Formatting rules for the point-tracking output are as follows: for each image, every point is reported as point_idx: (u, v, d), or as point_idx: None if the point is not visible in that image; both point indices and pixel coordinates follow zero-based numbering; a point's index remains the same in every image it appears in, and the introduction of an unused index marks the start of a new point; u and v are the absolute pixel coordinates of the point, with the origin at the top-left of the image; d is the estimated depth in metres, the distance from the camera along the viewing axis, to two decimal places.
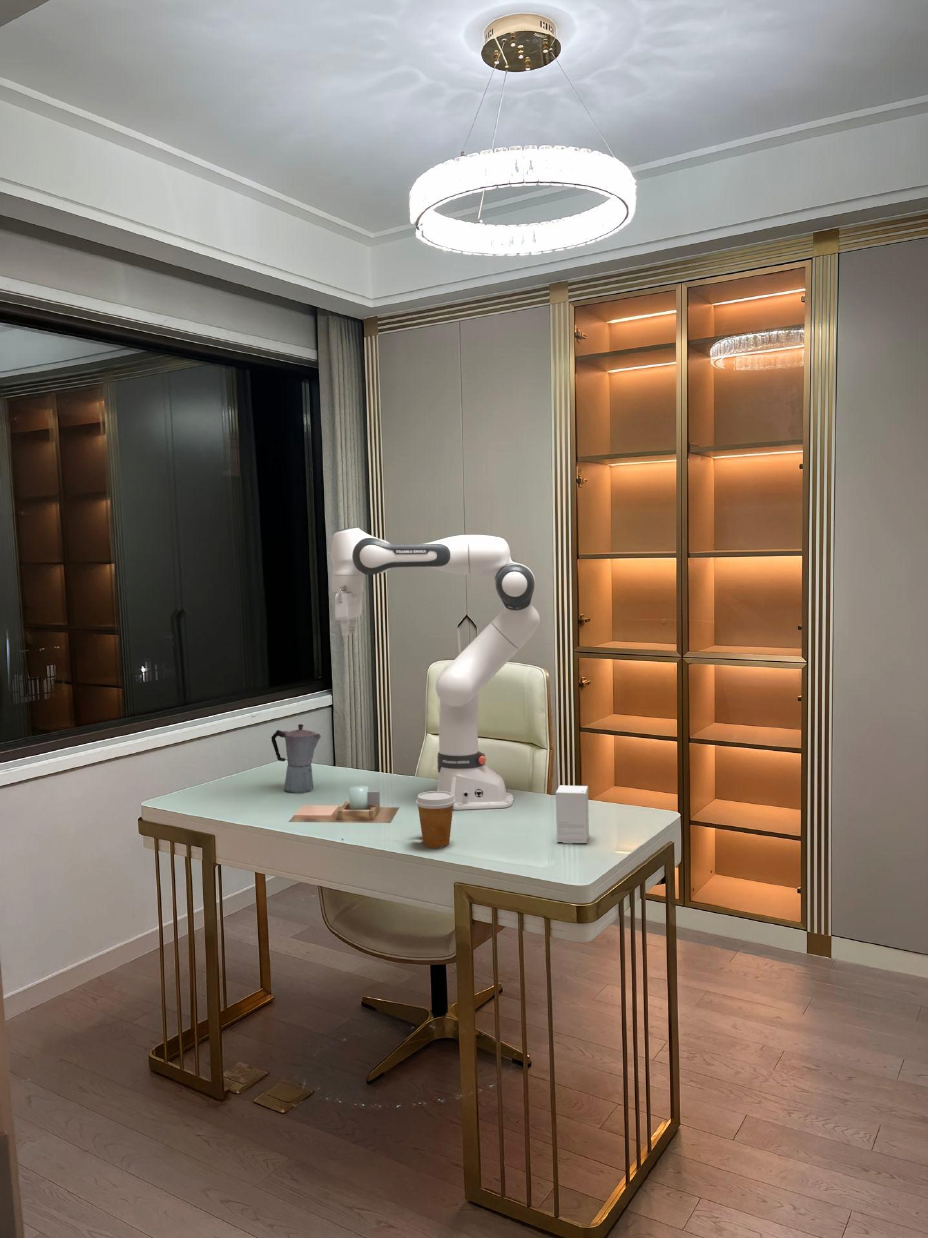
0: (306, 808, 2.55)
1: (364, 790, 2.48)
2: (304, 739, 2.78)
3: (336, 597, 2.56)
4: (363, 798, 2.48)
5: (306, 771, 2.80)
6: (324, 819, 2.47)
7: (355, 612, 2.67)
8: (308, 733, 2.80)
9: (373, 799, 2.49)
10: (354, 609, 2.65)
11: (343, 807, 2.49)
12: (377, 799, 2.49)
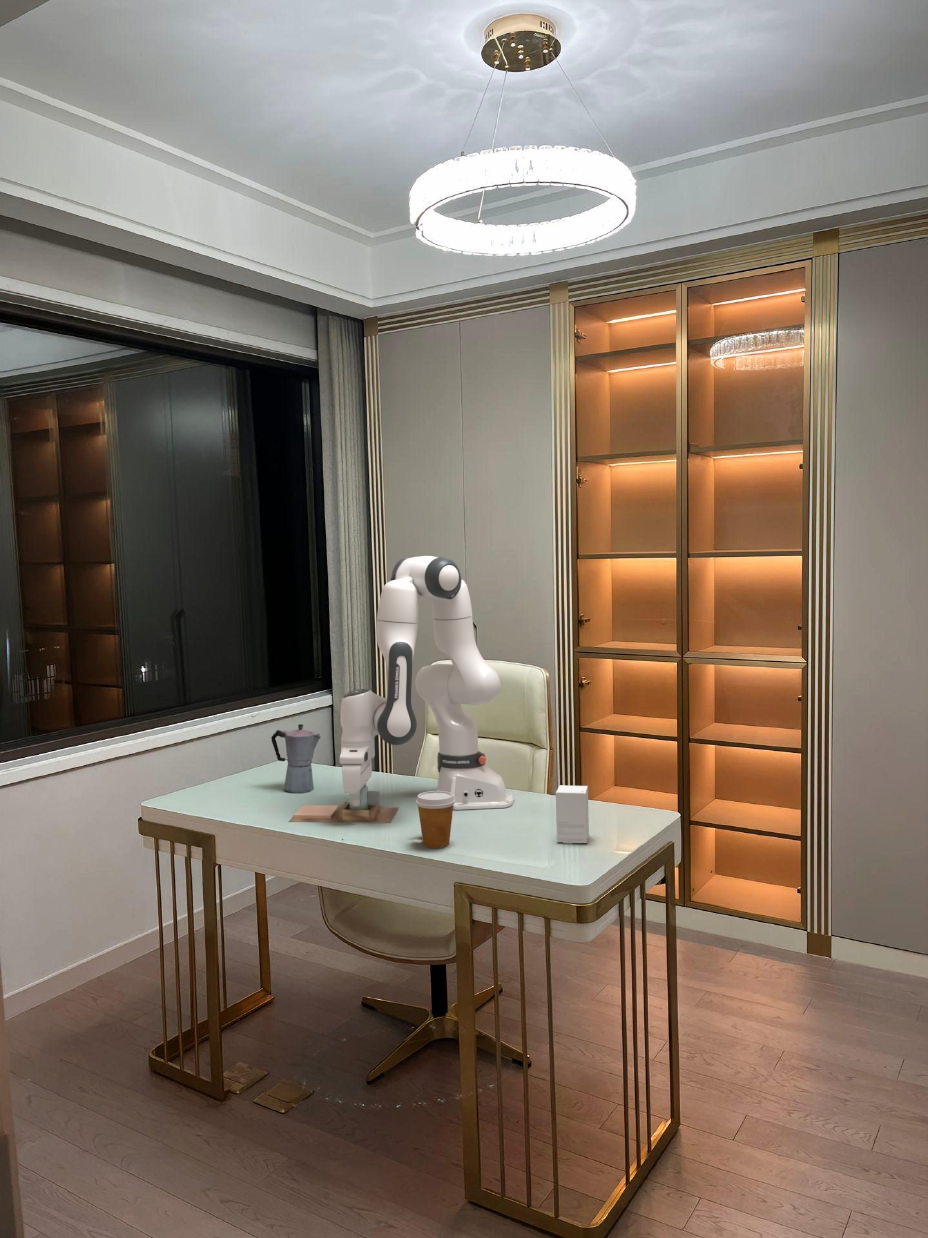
0: (306, 808, 2.55)
1: (364, 790, 2.48)
2: (304, 739, 2.78)
3: None
4: (363, 798, 2.48)
5: (306, 771, 2.80)
6: (324, 819, 2.47)
7: None
8: (308, 733, 2.80)
9: (373, 799, 2.49)
10: None
11: (343, 807, 2.49)
12: (377, 799, 2.49)
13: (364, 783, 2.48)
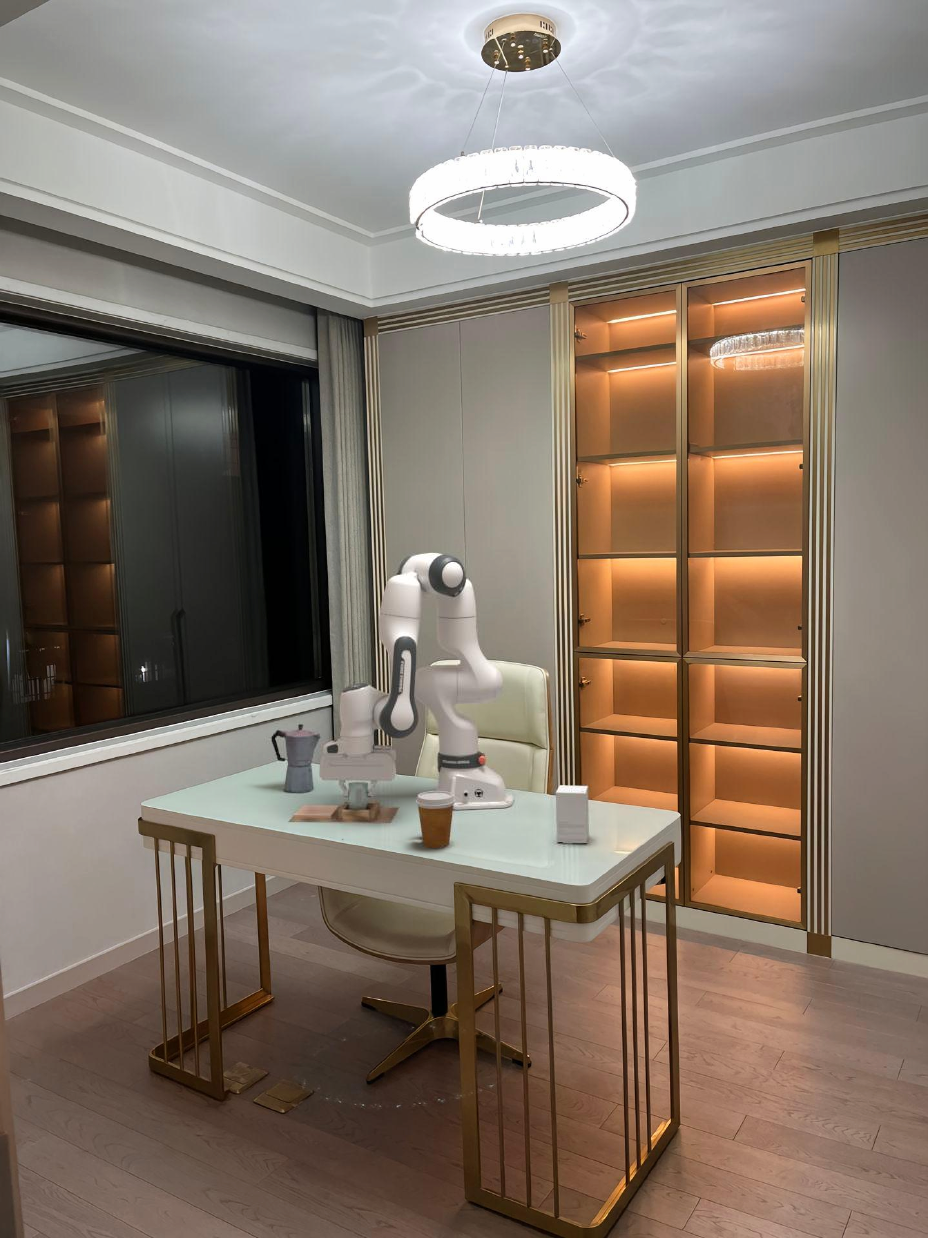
0: (306, 808, 2.55)
1: (352, 785, 2.48)
2: (304, 739, 2.78)
3: (391, 757, 2.47)
4: (351, 793, 2.48)
5: (306, 771, 2.80)
6: (324, 819, 2.47)
7: None
8: (308, 733, 2.80)
9: None
10: None
11: (343, 807, 2.49)
12: (357, 797, 2.45)
13: (351, 778, 2.48)
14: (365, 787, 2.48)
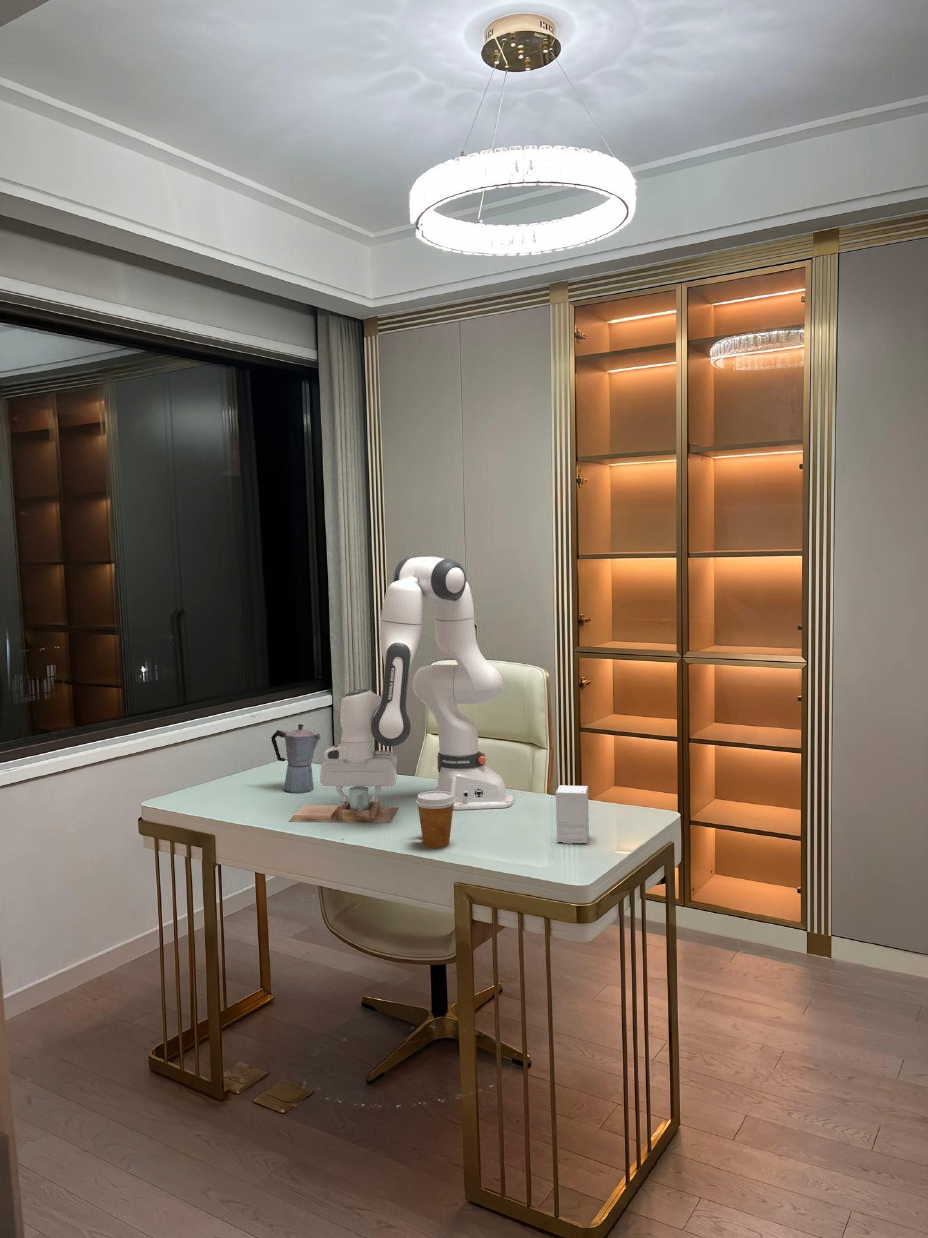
0: (306, 808, 2.55)
1: (353, 792, 2.46)
2: (304, 739, 2.78)
3: (392, 763, 2.47)
4: (352, 799, 2.47)
5: (306, 771, 2.80)
6: (324, 819, 2.47)
7: None
8: (308, 733, 2.80)
9: None
10: None
11: (343, 807, 2.49)
12: (358, 804, 2.44)
13: (352, 783, 2.48)
14: (365, 792, 2.47)
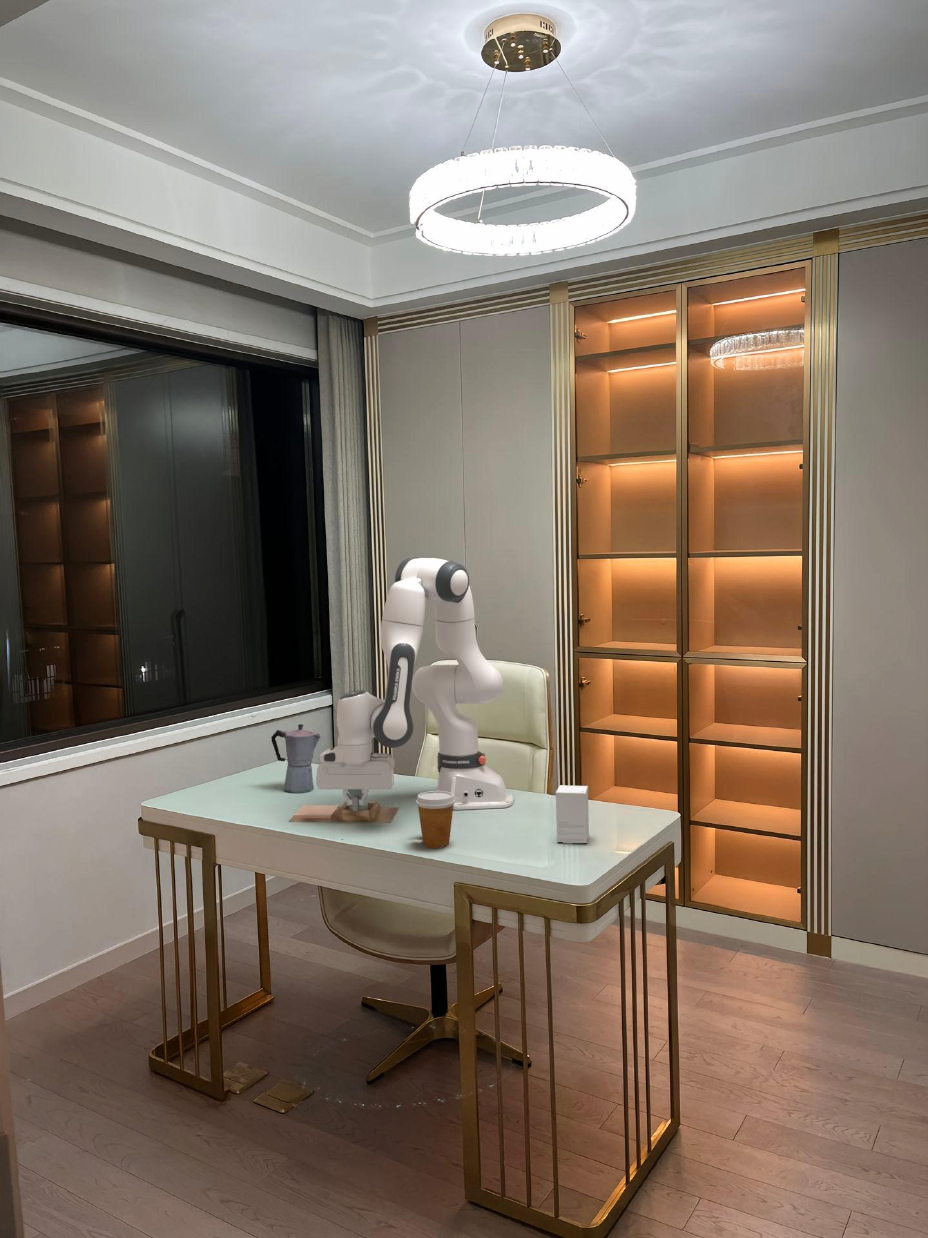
0: (306, 808, 2.55)
1: (350, 791, 2.47)
2: (304, 739, 2.78)
3: (389, 765, 2.43)
4: None
5: (306, 771, 2.80)
6: (324, 819, 2.47)
7: None
8: (308, 733, 2.80)
9: None
10: None
11: (343, 807, 2.49)
12: (352, 804, 2.44)
13: (349, 787, 2.43)
14: (363, 793, 2.47)
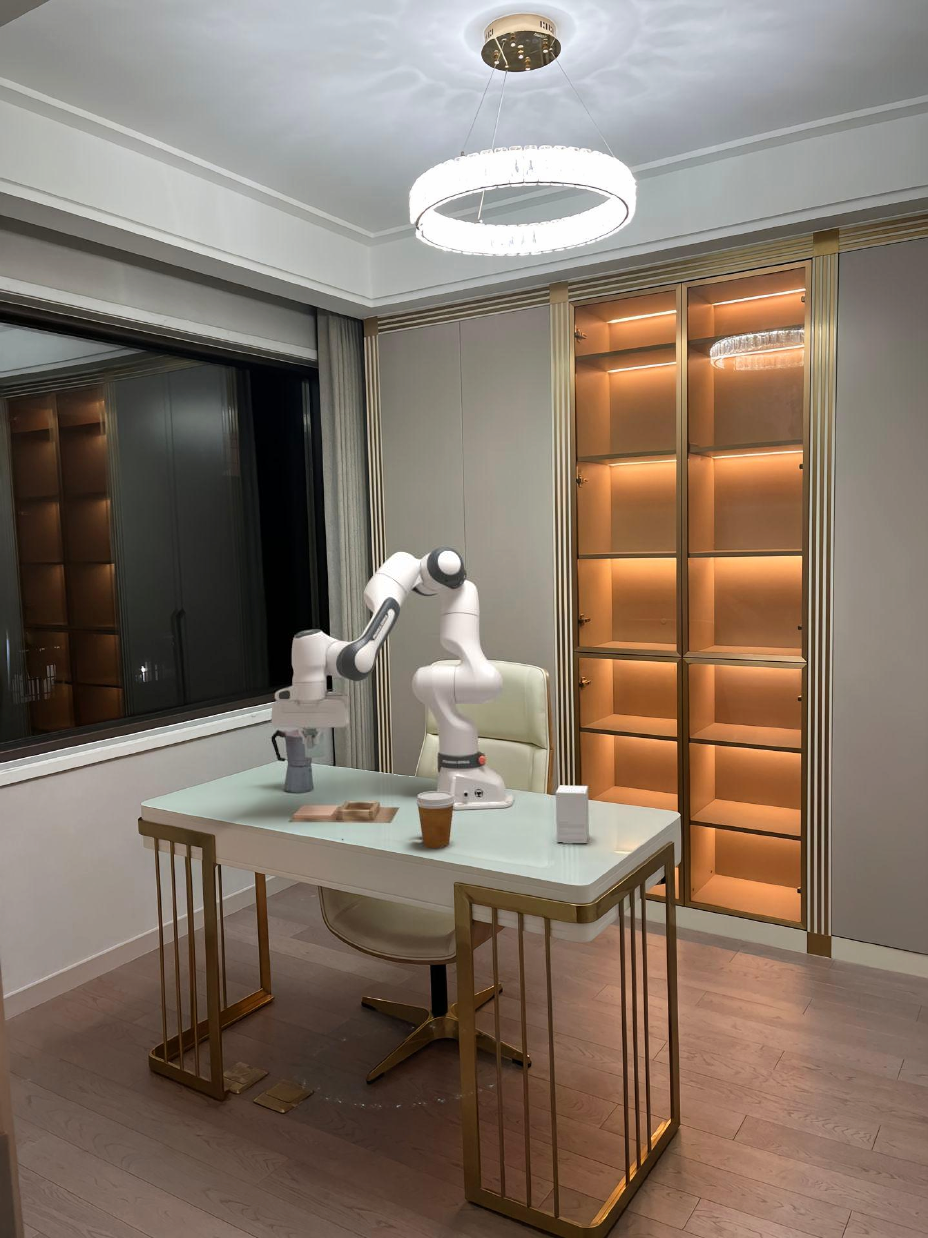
0: (306, 808, 2.55)
1: (306, 730, 2.49)
2: None
3: (343, 703, 2.45)
4: None
5: (306, 771, 2.80)
6: (324, 819, 2.47)
7: None
8: None
9: None
10: None
11: (343, 807, 2.49)
12: None
13: (303, 724, 2.45)
14: None
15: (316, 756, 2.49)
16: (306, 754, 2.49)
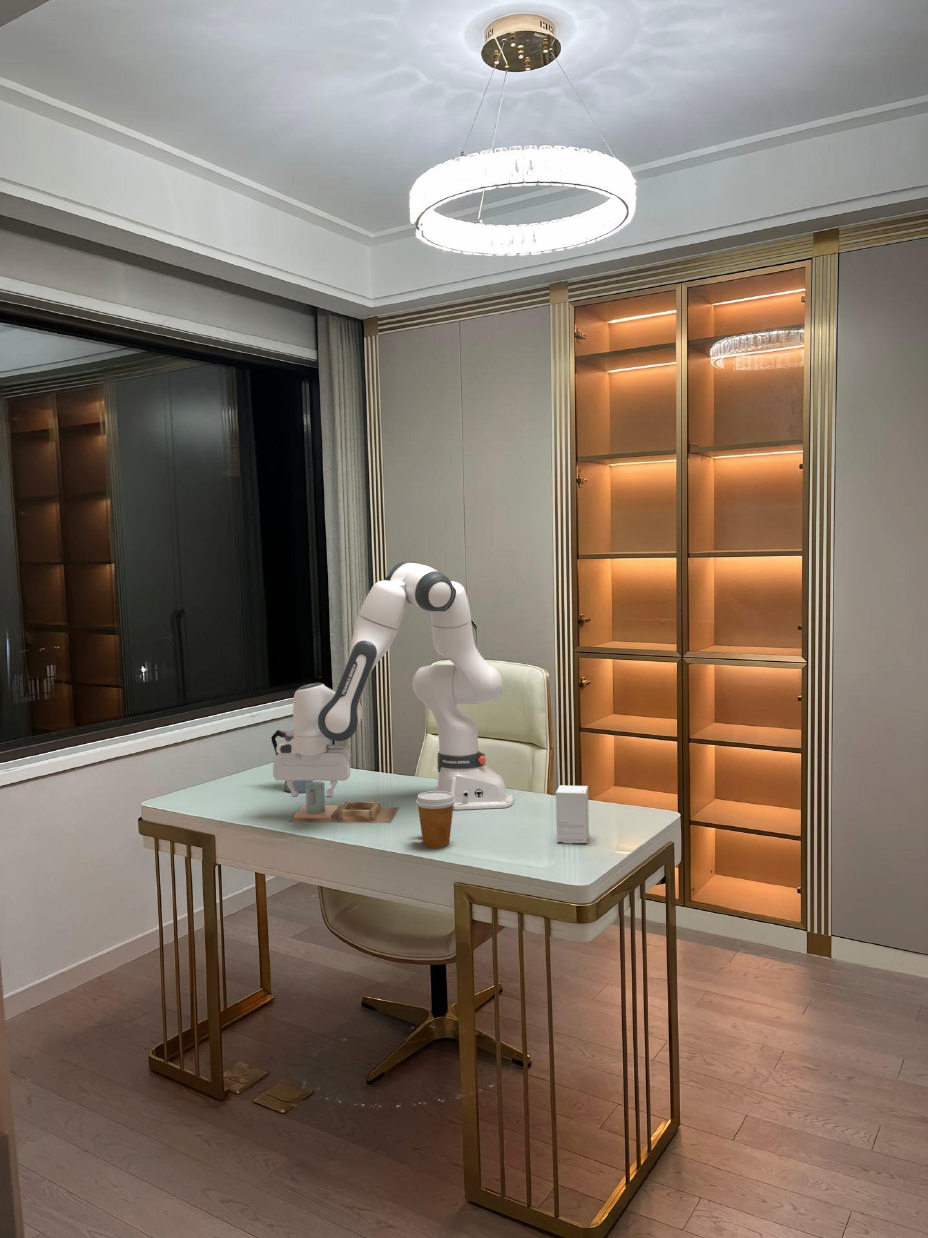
0: None
1: (307, 786, 2.50)
2: None
3: (344, 757, 2.46)
4: (306, 794, 2.50)
5: None
6: (324, 819, 2.47)
7: None
8: None
9: None
10: None
11: (343, 807, 2.49)
12: None
13: (305, 778, 2.46)
14: (319, 788, 2.49)
15: (317, 812, 2.49)
16: (307, 810, 2.50)
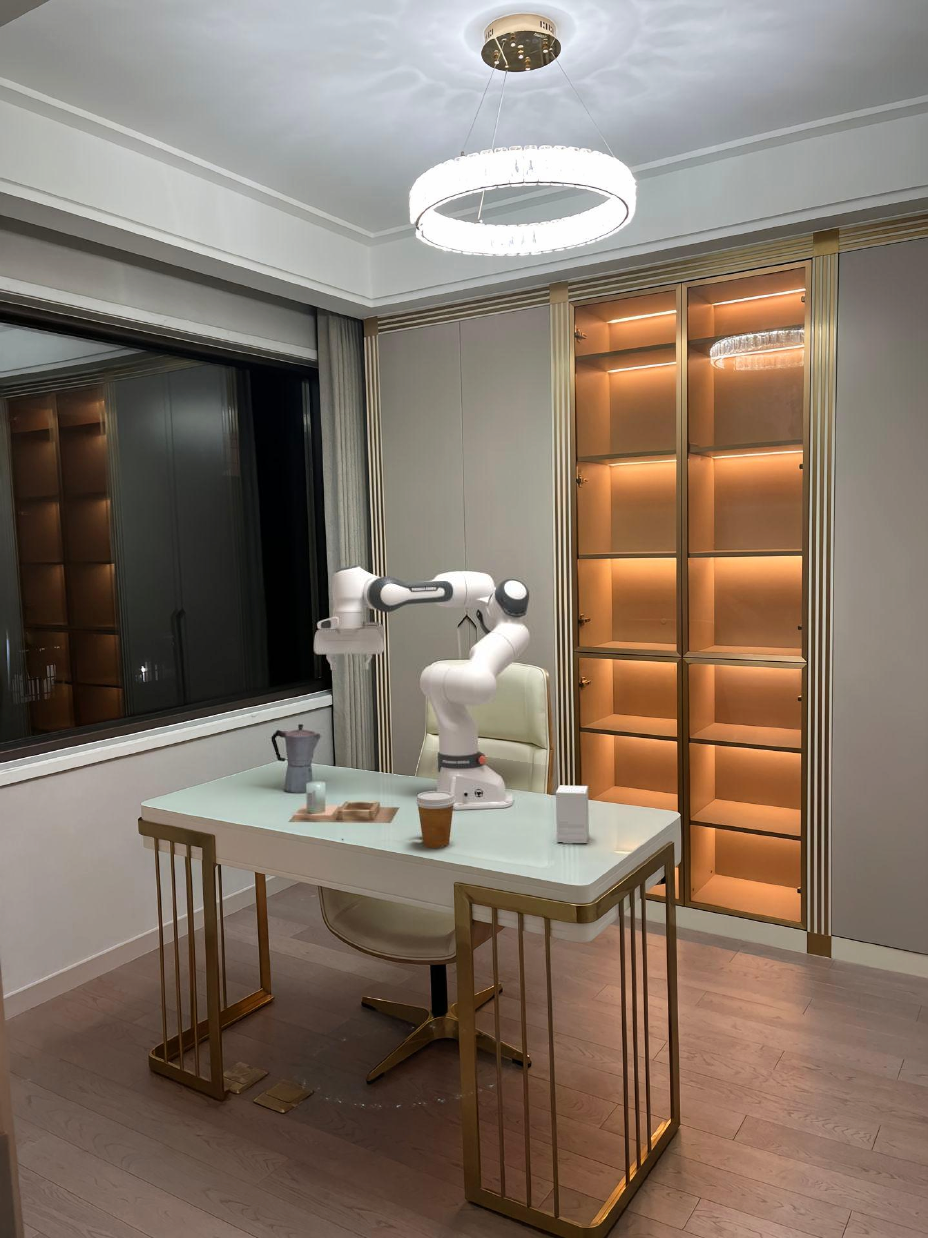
0: None
1: (307, 786, 2.49)
2: (304, 739, 2.78)
3: (379, 632, 2.70)
4: (307, 794, 2.50)
5: (306, 771, 2.80)
6: (324, 819, 2.47)
7: None
8: (308, 733, 2.80)
9: None
10: None
11: (343, 807, 2.49)
12: None
13: (343, 651, 2.71)
14: (319, 788, 2.49)
15: (317, 812, 2.49)
16: (307, 809, 2.50)
